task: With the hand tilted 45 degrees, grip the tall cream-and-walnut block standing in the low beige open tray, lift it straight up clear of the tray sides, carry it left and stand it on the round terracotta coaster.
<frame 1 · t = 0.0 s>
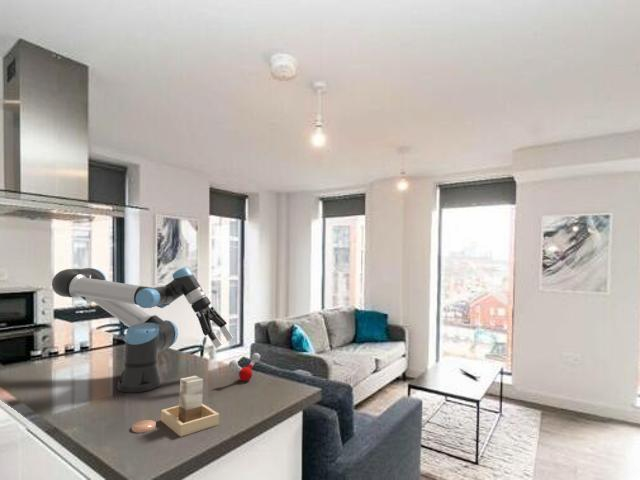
hand: (225, 342, 156), 15 cm above the counter, tool tilted 35°, fingers open, 13 cm apart
beige open tray: (189, 423, 114), on the counter
two-tone block: (189, 422, 114), resting on beige open tray
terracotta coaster: (143, 428, 109), on the counter
molecular model: (244, 381, 155), on the counter
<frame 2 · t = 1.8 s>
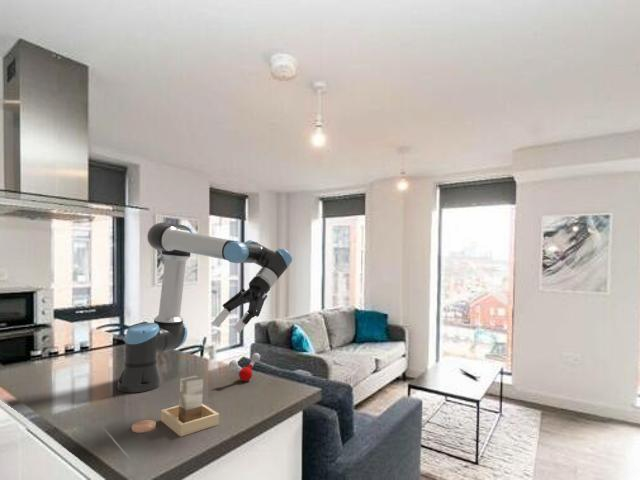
hand: (225, 327, 126), 27 cm above the counter, tool tilted 45°, fingers open, 13 cm apart
nothing on the counter moved.
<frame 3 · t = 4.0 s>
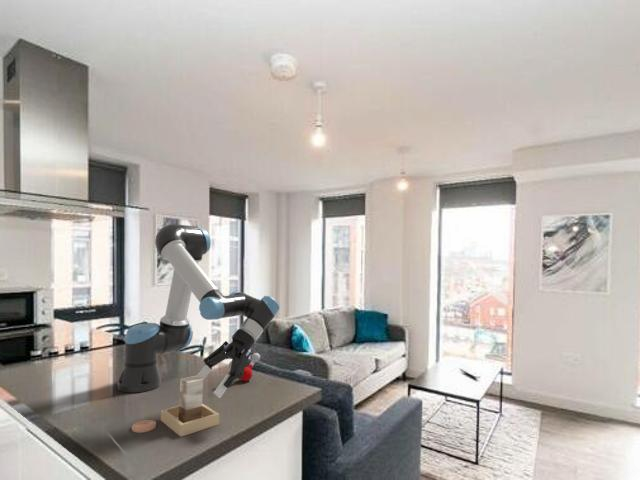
hand: (205, 389, 116), 10 cm above the counter, tool tilted 45°, fingers open, 13 cm apart
nothing on the counter moved.
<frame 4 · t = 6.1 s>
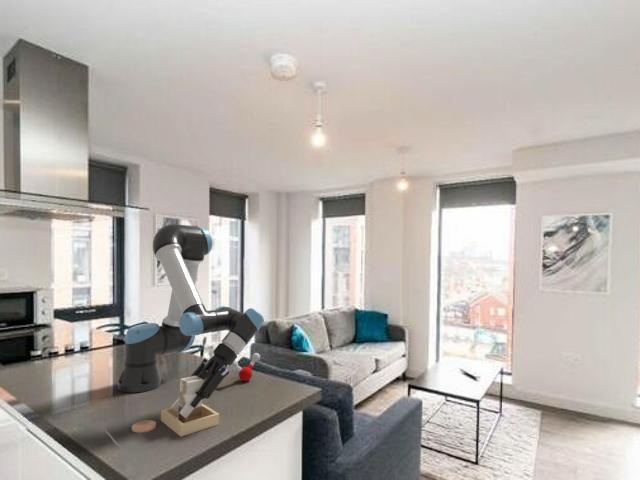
hand: (178, 412, 111), 4 cm above the counter, tool tilted 45°, fingers closed on two-tone block, 5 cm apart
two-tone block: (189, 422, 114), resting on beige open tray, touching gripper
everything else where it was.
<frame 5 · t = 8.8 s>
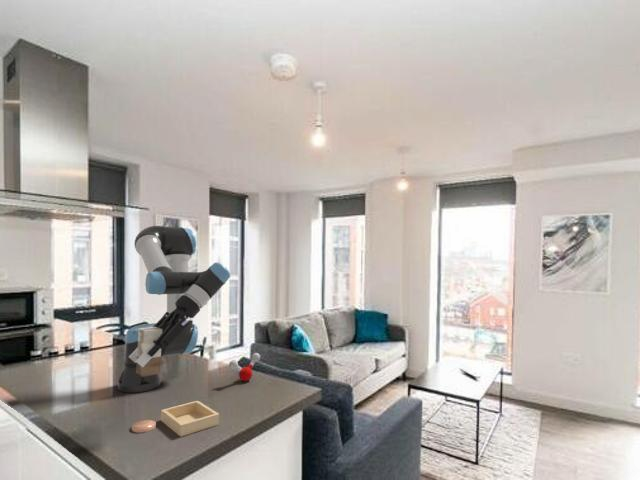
hand: (135, 361, 108), 20 cm above the counter, tool tilted 45°, fingers closed on two-tone block, 5 cm apart
two-tone block: (148, 373, 110), point 16 cm above the counter, touching gripper
everything else where it was.
when the fingers open (7 cm above the counter, at t = 11.5 s): two-tone block drops 2 cm, resting on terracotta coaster.
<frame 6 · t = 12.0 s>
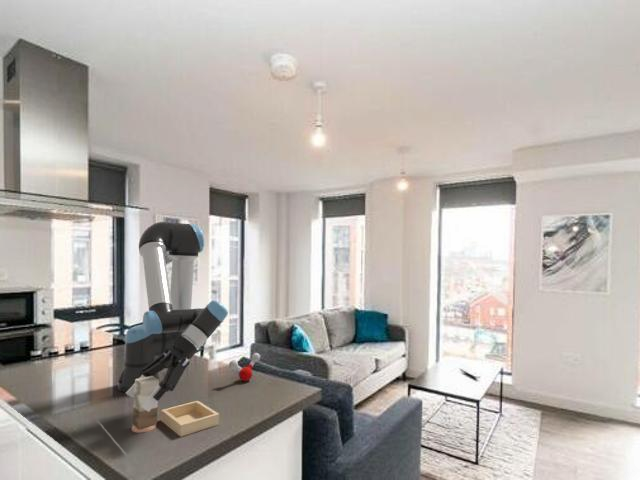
hand: (136, 402, 108), 8 cm above the counter, tool tilted 45°, fingers open, 12 cm apart
two-tone block: (144, 424, 109), point 1 cm above the counter, touching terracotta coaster
everything else where it was.
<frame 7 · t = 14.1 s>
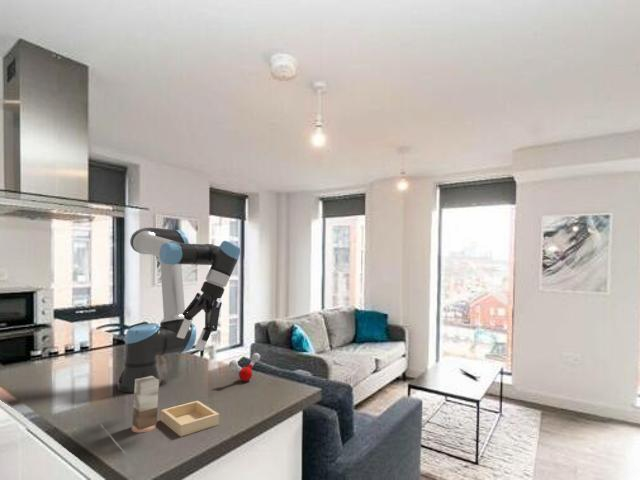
hand: (189, 343, 124), 22 cm above the counter, tool tilted 20°, fingers open, 13 cm apart
nothing on the counter moved.
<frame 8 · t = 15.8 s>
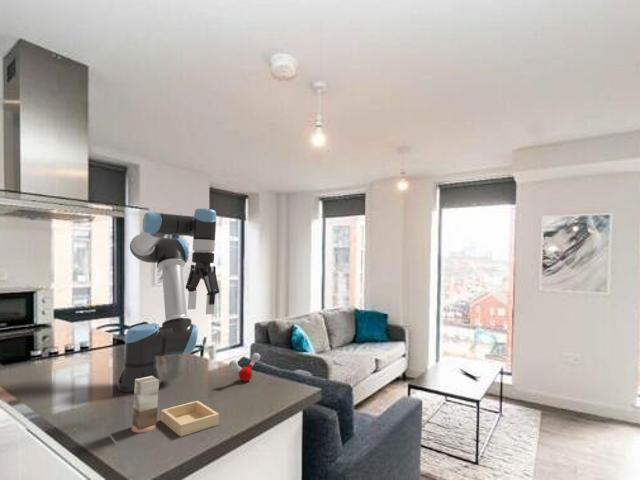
hand: (200, 311, 132), 32 cm above the counter, tool pointing down, fingers open, 13 cm apart
nothing on the counter moved.
at the end: two-tone block inside the target area on the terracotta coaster (0.3 cm from its centre), point 1.2 cm above the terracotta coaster's base; two-tone block tilted 0°; the gripper is holding nothing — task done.
